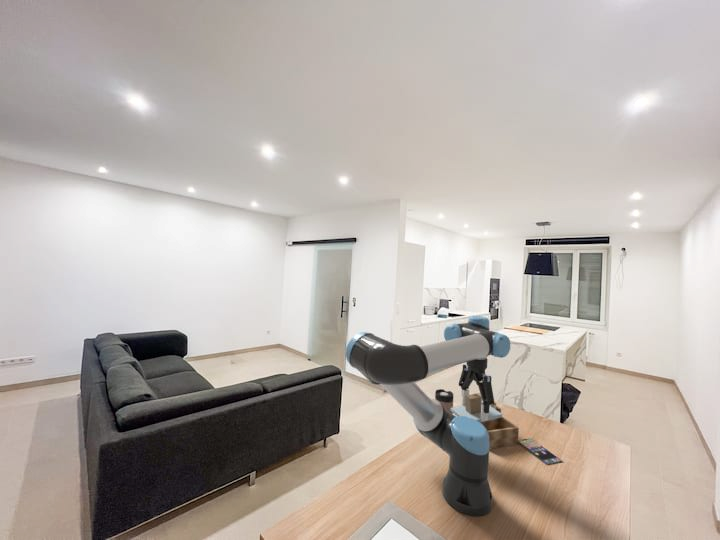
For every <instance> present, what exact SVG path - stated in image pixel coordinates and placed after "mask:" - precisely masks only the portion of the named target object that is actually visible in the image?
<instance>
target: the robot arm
mask: <svg viewBox="0 0 720 540" xmlns="http://www.w3.org/2000/svg"><path fill="white" fill-rule="evenodd" d="M443 338H444V341H440V342H439V341H438V342H435V343H432V344H431V343H430V344H427V345H423V346H419V344H411V345H401V344H396V343H393V342H391V341H388V340H386V339H384V338H381V337H379V336H377V335H375V334H374V333H371V332H367V331H366V332H365V331H362V332H358V333H356V334H355V335H353V336H352V337H351V338H350V340H349V341H348V343H347V345H346V349H345V358H346V360H347V362H348V364H349V365H350V367H352V368H354V369H356V370H357V371H358V372H360V374H361V375H363V376H364V377H365V378H366V379H367V380H368V381H369V383H370V384H372V385H374V386H381V387H382V388H383V389H384V390H385V391H386V392H387V393H388V394H389V395H390V396H391V397H392V398H393V399H394V401H396V402H397V403H398V404H399V405H400V406H401V407H402V408H403V409H404V410H405V411H406V412H407V413H408V414H409V415H410V416H411V417H412V421H413V423H414V426H415V428H416V429H417V431H418V432H419V434H421V435H422V436H424V438H426V439H428V440H429V441H431V442H432V444H434V445H435V446H437V447H438V448H439V449H441V450H442V451H443V452H445V454H448V456H449V463H448V464H449V466H448V469H447V472H446V475H445V477H444V478H443V482H442V489H441V490H442V491H441V492H442V496H443V498H444V500H445V501H446V502H447V504H449V506H450V507H452V508H453V509H454V510H456V511H458V512H460V513H462V514H464V515H467V516H473V517H481V516H485V515H487V514H489V513H490V512H491V511H492V508H493V501H494V500H493V494H492V490H491V487H490V482H489V479H488V476H489V473H488V472H489V461H490V457H489V456H490V450H491V449H490V443H489V433H488V431H487V429H486V428H485V427H484V426H483V425H482V424H481V423H480V422H478V421H477V420H475V419H473V418H468V417H466V416H456V415H455V414H454V413H453V414H451V413H449V412H448V411H447V410H446V409H445V408H444V407H443V406H442V405H441V404H440V403H439V402H438V401H437V400H435V398H430V397H429V396H428V395H427V394H426V393H425V392H424V390H422V389H421V388H420V386H419V385H418V384H417V383H416V382H419V381H422V380H424V379H426V378H427V377H428V375H429V374H432V373H435V372H438V371H441V370H444V369H448V368H450V367H451V368H452V367H454V366H458V365H461V364H463V365H462V371H461V374H460V378H459V381H458V386H459V387H460V389H461V406H462V405H466V395H470V386H471V384H472V382H473V381H474V382H475V383H476V385H477V386H478V390H479V393H480V394H481V397H482V400H483V403H481V421H487V420H488V413H489V408H490V405H492V404H494V402H495V398H494V393H493V392H494V391H493V385H492V376H491V375H487V374H486V369H487V368H488V357H489V356H493V357H496V358H502V359H503V358H505V357H507V356H508V354H509V353H510V350H511V339H510V338H509V337H508V335H506V334H504V333H503V334H502V333H500V332H498V331H493V330H490V319H489V318H488V317H486V316H479V315H471V316H469V317H468V322H465V323H453V324H452V323H451V324H448V325H447V326H446V327H445V328H444V330H443ZM464 363H465V364H464Z"/></svg>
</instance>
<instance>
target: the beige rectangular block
mask: <svg viewBox="0 0 720 540" xmlns="http://www.w3.org/2000/svg"><path fill="white" fill-rule="evenodd" d="M474 394H478V395H479V396H481V394H480V392H476V393H474ZM482 401H483V400H482ZM490 406H491V407H492V408H494V409H495V410H496V406H497V402H496V401H494V404H492V405H490Z"/></svg>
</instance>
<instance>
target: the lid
mask: <svg viewBox="0 0 720 540" xmlns="http://www.w3.org/2000/svg"><path fill="white" fill-rule="evenodd" d="M481 403H483V401H482V397H481V396H479V395H478V394H475V393H473V394H469V395H466V405H462V404H461V405H459V406H453V408H451V412H453V415H454V416H456V417H457V416H466V417H468V418H473V419H475V420H477V421H478V422H485V421H481ZM501 417H503V413H502V412H501V413H500V412H498V411H497V410H495V409H494V408H492V407H491V406H490V408H489V413H488V420H487V421H489V420H494V419H497V418H501Z"/></svg>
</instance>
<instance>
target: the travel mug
mask: <svg viewBox="0 0 720 540" xmlns="http://www.w3.org/2000/svg"><path fill="white" fill-rule="evenodd" d="M434 399H435V400H437V401H438V402H439V403H440V404H441V405H442V406H443V407H444V408H445V409H446V410H447V411H448V412H449V413H451V414H453V415H454V413H453V412H451V408H453V407H454V393H453V392H452V391H450V390H447V391H446V390H445V389H443V388H442V389H441V388H439V389H436V390H435V393H434Z"/></svg>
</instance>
